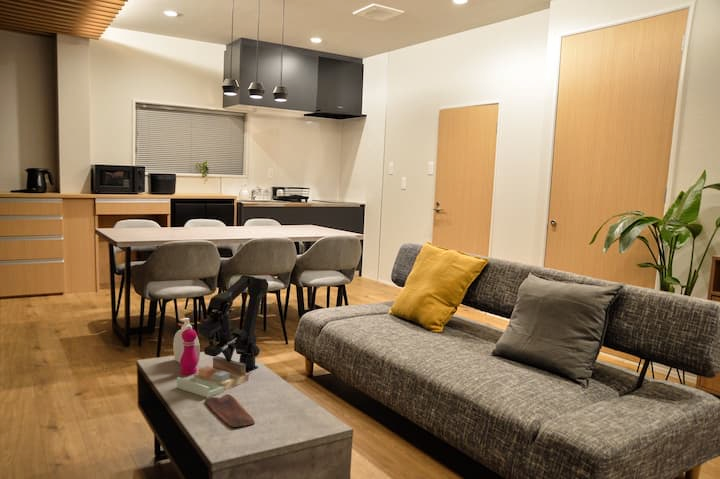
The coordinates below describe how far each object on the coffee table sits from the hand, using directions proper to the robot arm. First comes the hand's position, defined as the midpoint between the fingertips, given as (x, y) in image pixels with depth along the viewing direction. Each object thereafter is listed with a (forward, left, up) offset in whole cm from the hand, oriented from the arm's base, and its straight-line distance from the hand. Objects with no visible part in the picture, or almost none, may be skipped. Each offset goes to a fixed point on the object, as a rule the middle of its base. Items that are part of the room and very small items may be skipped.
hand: (229, 361), depth 223 cm
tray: (+15, 0, -7) cm, 17 cm away
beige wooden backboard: (+4, 0, -7) cm, 8 cm away
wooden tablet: (+18, +26, -7) cm, 32 cm away
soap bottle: (-2, -28, -8) cm, 29 cm away
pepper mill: (+5, -18, -8) cm, 20 cm away
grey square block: (+8, +4, -4) cm, 10 cm away
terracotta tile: (+8, -4, -4) cm, 10 cm away
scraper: (0, 0, -4) cm, 4 cm away
